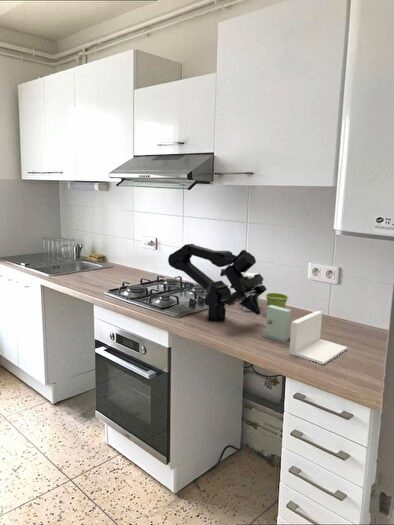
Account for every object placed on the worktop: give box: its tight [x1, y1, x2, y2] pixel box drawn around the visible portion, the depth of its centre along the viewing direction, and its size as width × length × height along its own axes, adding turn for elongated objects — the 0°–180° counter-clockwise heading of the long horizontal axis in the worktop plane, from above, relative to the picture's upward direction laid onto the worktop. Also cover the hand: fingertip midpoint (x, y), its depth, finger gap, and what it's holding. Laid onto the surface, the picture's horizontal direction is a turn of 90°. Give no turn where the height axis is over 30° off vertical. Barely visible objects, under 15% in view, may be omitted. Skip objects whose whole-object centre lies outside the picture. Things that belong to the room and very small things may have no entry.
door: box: [264, 305, 292, 342], centre depth 148 cm, size 8×4×11 cm, turn 48°
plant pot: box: [265, 292, 289, 308], centre depth 175 cm, size 9×9×9 cm
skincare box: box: [242, 272, 261, 312], centre depth 182 cm, size 8×7×16 cm
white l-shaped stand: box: [261, 310, 348, 365], centre depth 143 cm, size 27×18×11 cm, turn 48°
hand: (259, 314), depth 154 cm, fingers closed
